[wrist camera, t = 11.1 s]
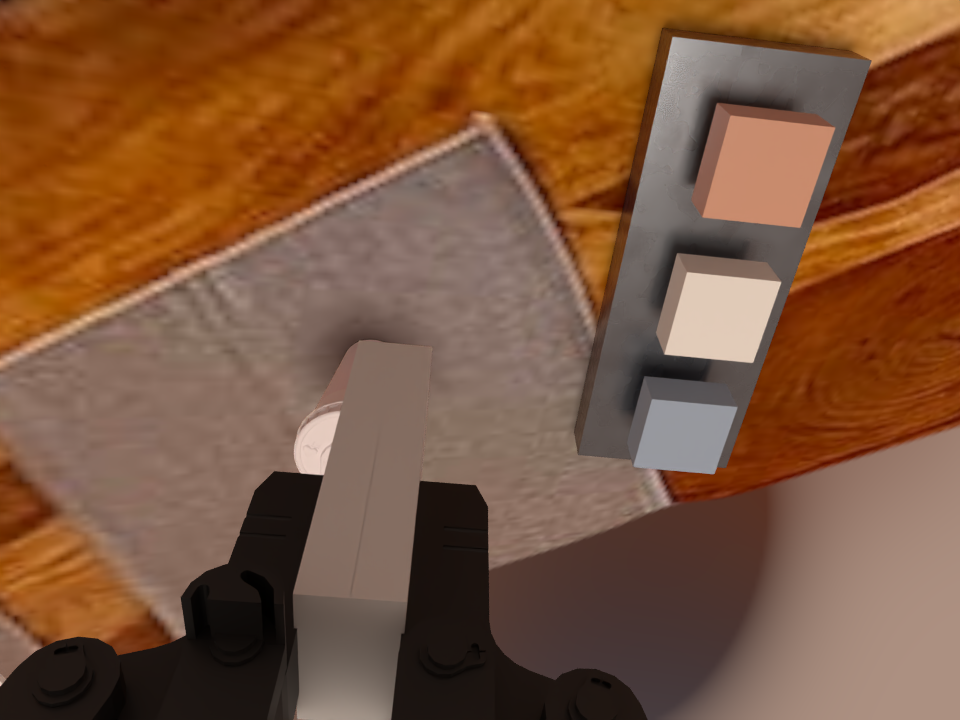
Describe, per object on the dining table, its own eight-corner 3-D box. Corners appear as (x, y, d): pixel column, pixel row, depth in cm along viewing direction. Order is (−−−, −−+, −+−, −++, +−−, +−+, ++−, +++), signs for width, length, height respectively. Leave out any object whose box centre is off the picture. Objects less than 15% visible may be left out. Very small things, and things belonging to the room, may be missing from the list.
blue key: (636, 353, 49) (652, 399, 44) (715, 360, 49) (737, 407, 45) (620, 417, 51) (633, 467, 47) (694, 424, 51) (714, 474, 47)
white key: (667, 234, 44) (687, 272, 40) (752, 243, 45) (781, 281, 40) (647, 311, 47) (664, 354, 43) (728, 319, 47) (753, 363, 43)
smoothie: (302, 358, 50) (247, 507, 38) (374, 302, 48) (339, 441, 36) (370, 419, 53) (339, 577, 41) (442, 369, 51) (430, 520, 39)
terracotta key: (703, 90, 40) (730, 115, 36) (798, 101, 40) (835, 127, 36) (680, 183, 43) (702, 217, 38) (768, 193, 43) (800, 228, 39)
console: (662, 28, 40) (672, 36, 38) (851, 50, 40) (871, 60, 38) (574, 431, 54) (578, 454, 51) (716, 444, 54) (725, 467, 52)
